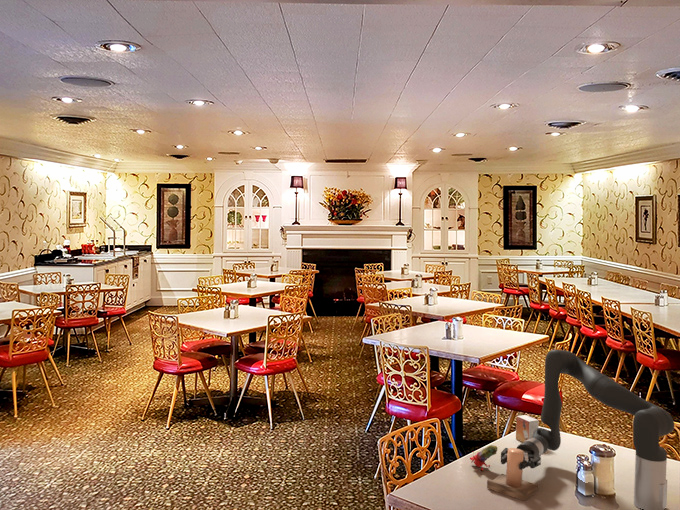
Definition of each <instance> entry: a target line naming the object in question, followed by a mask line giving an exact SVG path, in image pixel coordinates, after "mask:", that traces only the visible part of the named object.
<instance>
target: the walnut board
mask: <svg viewBox="0 0 680 510" xmlns="http://www.w3.org/2000/svg"><path fill="white" fill-rule="evenodd" d="M486 481H487V483H486V489H487V488H489V489H488V490H490V489H492V490H491V491H493V490H494V491H493V492H497V493H499V494H503V495H506V496H509V497H512V498H515V497H516V498H515V499H518V498H519V499H518V500H521V499H522V501H524V500H525V501H526V500H528V499H529V498H530V497H531V496H532V495H534V494H535V493H536V492H537V491H538V490H539V484H537V483H533V482H530V481H528V480H523V479H522V486H521V487H512V486H509V485H507V484H506V474H504V473H501V474H499V475H498V476H496V477H495V478H494V479H487V480H486Z"/></svg>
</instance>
